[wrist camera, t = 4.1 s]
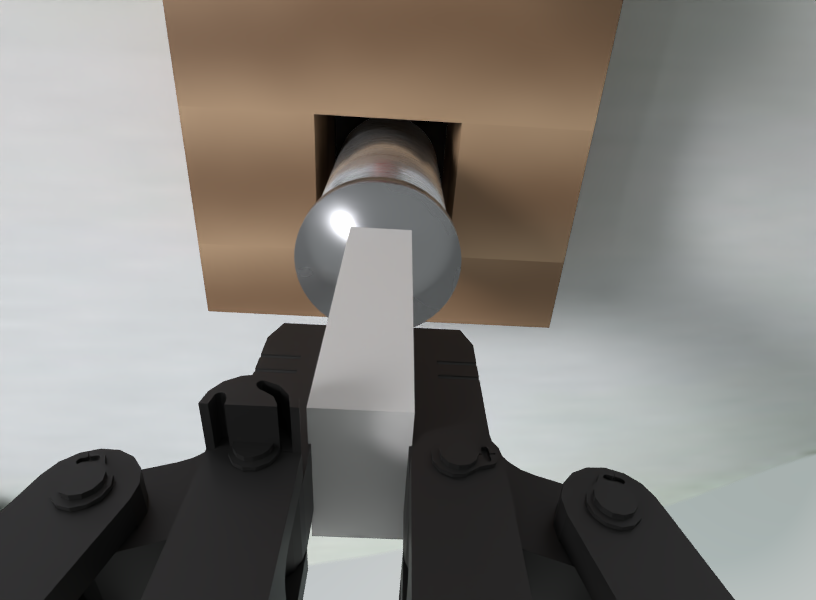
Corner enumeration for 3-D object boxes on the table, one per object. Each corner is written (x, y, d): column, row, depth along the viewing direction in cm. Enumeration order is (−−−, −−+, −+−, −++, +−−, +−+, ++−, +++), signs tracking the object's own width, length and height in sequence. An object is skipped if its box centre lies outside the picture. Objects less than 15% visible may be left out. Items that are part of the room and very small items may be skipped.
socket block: (179, -421, 16) (72, -615, 11) (640, -379, 17) (746, -546, 11) (246, 249, 27) (208, 311, 22) (522, 263, 28) (549, 327, 22)
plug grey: (333, 107, 21) (289, 177, 13) (446, 113, 21) (470, 188, 13) (334, 214, 23) (297, 329, 15) (437, 219, 23) (452, 337, 15)
